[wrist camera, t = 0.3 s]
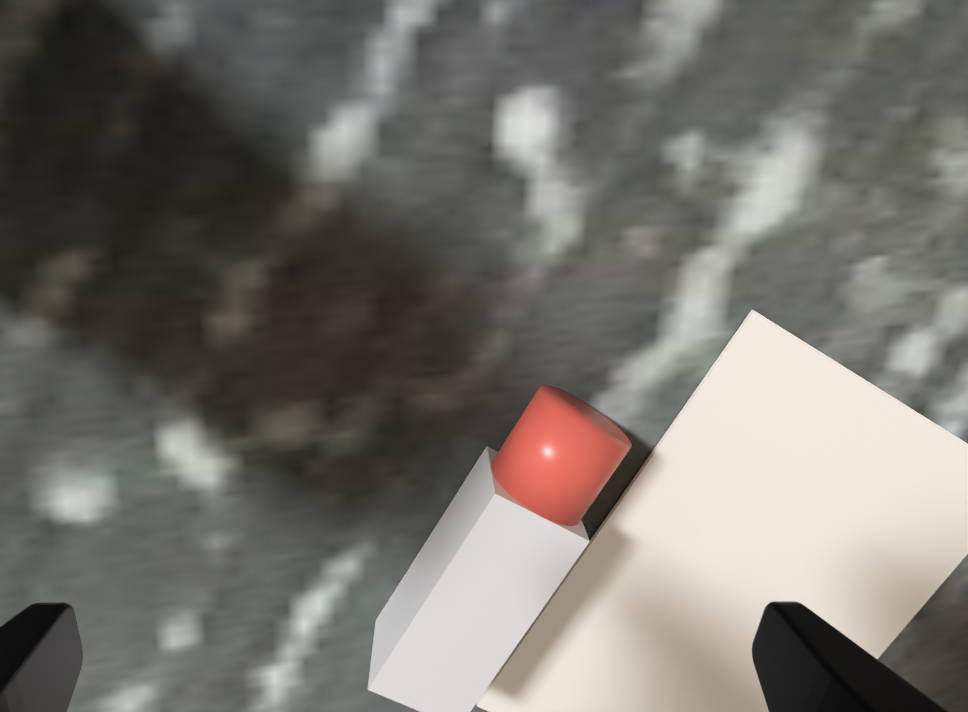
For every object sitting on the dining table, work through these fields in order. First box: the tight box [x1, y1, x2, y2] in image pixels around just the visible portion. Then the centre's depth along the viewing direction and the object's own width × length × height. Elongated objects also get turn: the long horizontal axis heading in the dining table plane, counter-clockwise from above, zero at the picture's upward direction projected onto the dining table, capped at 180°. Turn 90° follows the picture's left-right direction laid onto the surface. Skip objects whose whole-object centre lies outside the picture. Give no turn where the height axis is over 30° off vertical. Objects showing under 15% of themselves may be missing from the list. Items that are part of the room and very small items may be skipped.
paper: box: [477, 310, 968, 712], centre depth 26 cm, size 18×13×1 cm
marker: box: [368, 385, 632, 712], centre depth 23 cm, size 11×3×3 cm, turn 149°
